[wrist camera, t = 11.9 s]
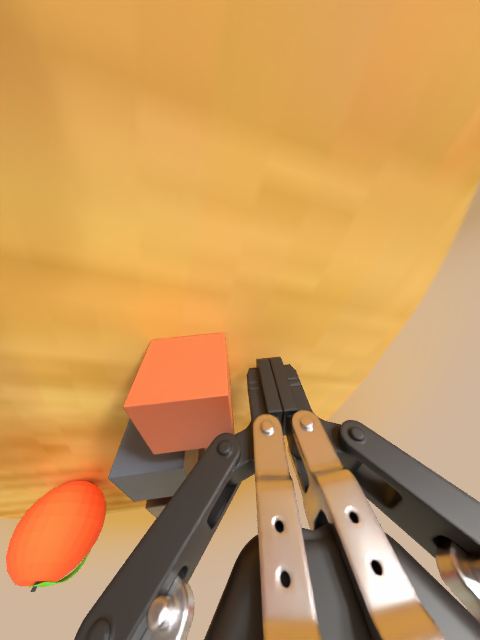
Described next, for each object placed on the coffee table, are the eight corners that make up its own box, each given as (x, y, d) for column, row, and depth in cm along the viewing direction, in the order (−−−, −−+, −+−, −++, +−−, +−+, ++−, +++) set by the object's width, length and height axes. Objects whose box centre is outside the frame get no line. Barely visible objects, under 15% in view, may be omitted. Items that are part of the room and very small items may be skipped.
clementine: (135, 487, 24) (109, 585, 18) (85, 500, 25) (44, 599, 19) (86, 462, 20) (30, 581, 14) (26, 479, 20) (-51, 600, 14)
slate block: (150, 437, 18) (133, 502, 14) (133, 408, 16) (107, 478, 12) (199, 431, 18) (195, 493, 15) (190, 402, 16) (183, 468, 12)
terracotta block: (169, 386, 15) (153, 455, 11) (150, 339, 12) (121, 407, 8) (230, 379, 15) (235, 444, 11) (224, 332, 12) (228, 394, 9)
